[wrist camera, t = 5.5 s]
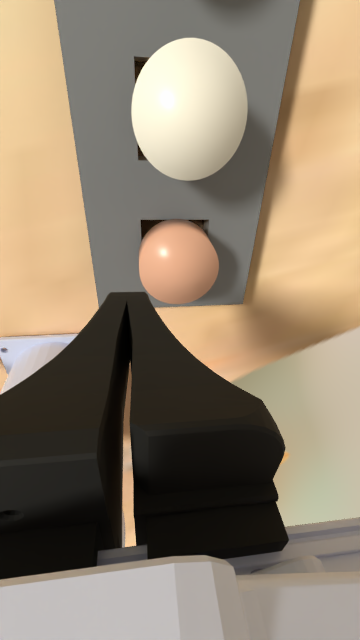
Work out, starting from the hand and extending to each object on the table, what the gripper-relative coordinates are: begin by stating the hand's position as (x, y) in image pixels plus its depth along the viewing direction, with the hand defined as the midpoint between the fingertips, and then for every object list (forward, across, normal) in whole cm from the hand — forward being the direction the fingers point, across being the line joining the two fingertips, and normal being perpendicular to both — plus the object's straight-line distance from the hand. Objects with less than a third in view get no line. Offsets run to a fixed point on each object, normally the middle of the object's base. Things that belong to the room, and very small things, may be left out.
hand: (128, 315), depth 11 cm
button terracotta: (+9, -3, +1) cm, 9 cm away
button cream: (+8, -3, -6) cm, 10 cm away
